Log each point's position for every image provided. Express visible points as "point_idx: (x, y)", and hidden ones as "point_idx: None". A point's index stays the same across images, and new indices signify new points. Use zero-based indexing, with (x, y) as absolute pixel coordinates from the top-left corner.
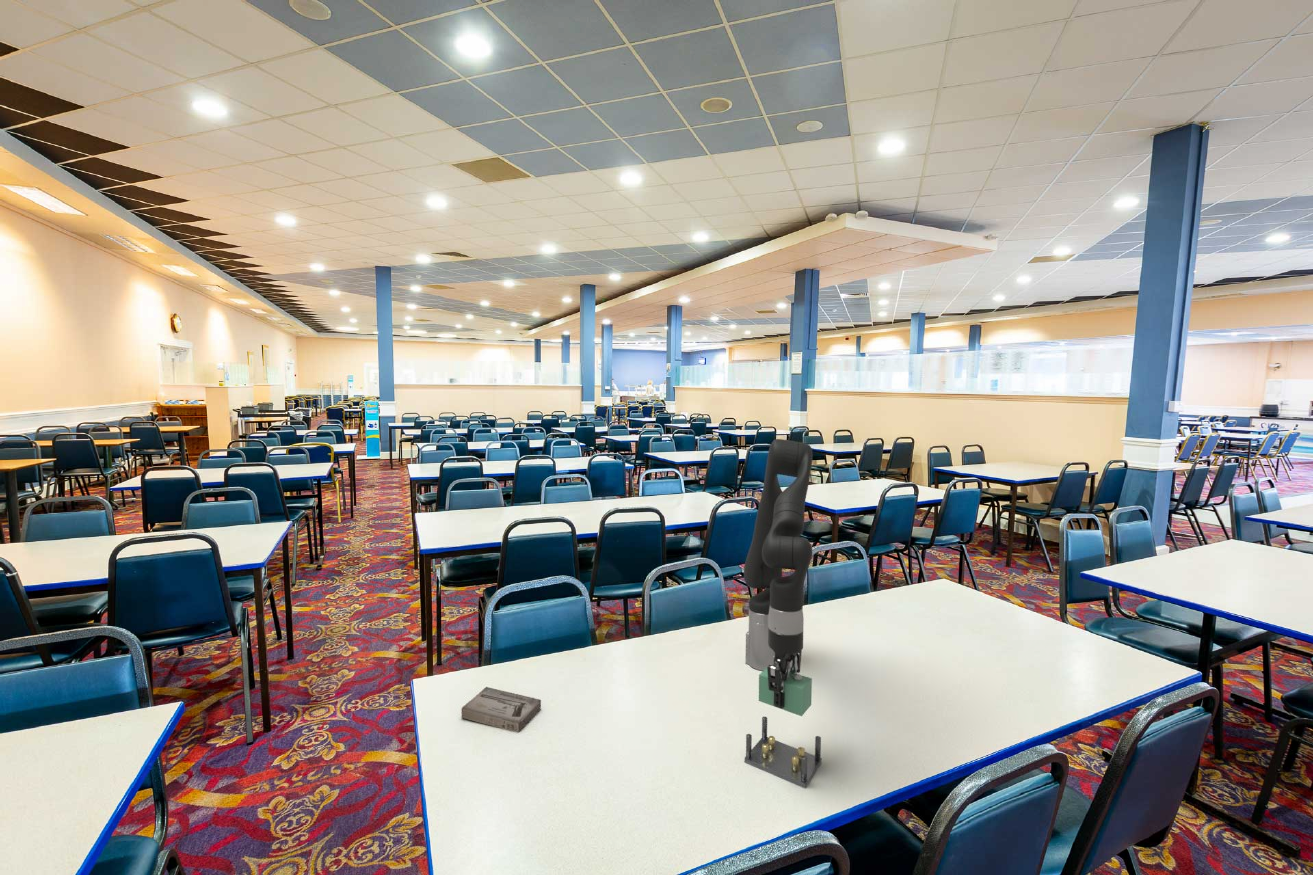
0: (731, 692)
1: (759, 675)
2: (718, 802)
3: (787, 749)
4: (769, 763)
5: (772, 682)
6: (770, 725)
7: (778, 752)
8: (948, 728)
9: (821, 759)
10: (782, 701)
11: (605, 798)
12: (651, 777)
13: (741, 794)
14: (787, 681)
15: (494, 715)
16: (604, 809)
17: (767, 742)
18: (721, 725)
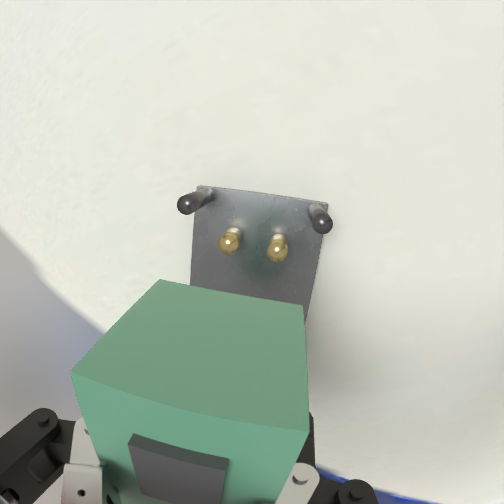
0: (490, 66)
1: (72, 372)
2: (64, 188)
3: (293, 283)
4: (209, 254)
5: (40, 448)
6: (402, 203)
7: (268, 264)
8: (453, 465)
9: None
10: None
11: (16, 34)
12: (68, 43)
13: (101, 220)
14: (138, 500)
15: None
16: (2, 51)
17: (299, 224)
18: (332, 67)
